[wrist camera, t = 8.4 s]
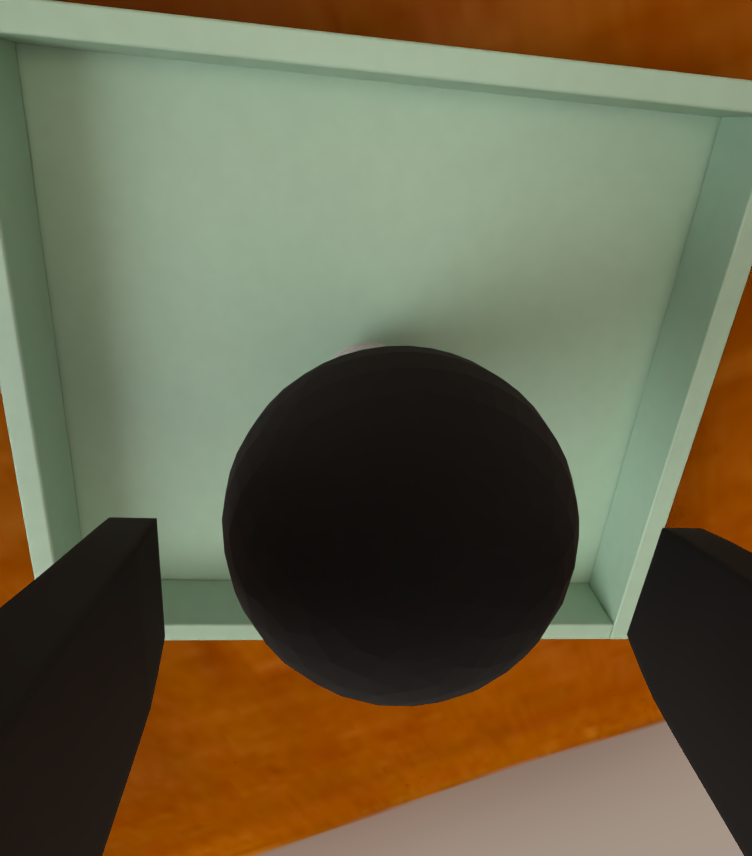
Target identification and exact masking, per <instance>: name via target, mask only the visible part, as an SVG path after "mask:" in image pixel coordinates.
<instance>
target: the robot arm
mask: <svg viewBox="0 0 752 856" xmlns="http://www.w3.org/2000/svg"><path fill="white" fill-rule="evenodd" d="M627 636H628V639H629V641H630V644H631V647H632V649H633V652H634V654H635V657H636V659H637V662H638V664H639V667H640V669H641V672H642V674H643V676H644V678H645V681H646V683H647V685H648V688H649V690H650V692H651V694H652V697H653V699H654V701H655V703H656V704H657V706H658V708H659V710H660V712H661V713H662V715H663V717H664V719H665V720H666V722H667V724H668V726H669V727H670V729H671V731H672V733H673V734H674V736H675V738H676V740H677V741H678V743H679V745H680V746H681V748H682V750H683V752H684V753H685V755H686V757H687V759H688V760H689V762H690V764H691V766H692V767H693V769H694V771H695V772H696V774H697V776H698V778H699V779H700V781H701V783H702V784H703V786H704V788H705V789H706V791H707V793H708V794H709V796H710V798H711V800H712V801H713V803H714V805H715V807H716V808H717V810H718V812H719V813H720V815H721V817H722V818H723V820H724V822H725V824H726V825H727V827H728V829H729V830H730V832H731V834H732V835H733V837H734V839H735V841H736V842H737V844H738V846H739V848H740V849H741V851H742V853H743V854H744V856H752V553H751V552H749V551H747V550H745V549H743V548H741V547H739V546H737V545H735V544H733V543H732V542H730V541H728V540H725V539H723V538H721V537H719V536H717V535H715V534H713V533H710V532H708V531H706V530H703V529H701V528H662V530H661V533H660V536H659V539H658V542H657V545H656V548H655V551H654V554H653V557H652V560H651V563H650V566H649V569H648V572H647V575H646V578H645V581H644V584H643V587H642V590H641V593H640V596H639V599H638V602H637V605H636V608H635V611H634V614H633V617H632V620H631V623H630V626H629V629H628V632H627ZM164 640H165V627H164V613H163V599H162V585H161V571H160V557H159V543H158V529H157V518H121V517H109V518H108V519H106V520H105V521H104V522H103V523H101V524H100V525H99V526H98V527H97V528H95V529H94V530H93V531H92V532H91V533H89V534H88V535H87V536H86V537H85V538H84V539H82V540H81V541H80V542H79V543H78V544H76V545H75V546H74V547H73V548H72V549H70V550H69V551H68V552H67V553H66V554H65V555H63V556H62V557H61V558H60V559H59V560H58V561H56V562H55V563H54V564H53V565H52V566H50V567H49V568H48V569H47V570H46V571H45V572H43V573H42V574H41V575H40V576H39V577H37V578H36V579H35V580H34V581H33V582H31V583H30V584H29V585H28V586H27V587H25V588H24V589H23V590H22V591H20V592H19V593H18V594H17V595H16V596H14V597H13V598H12V599H11V600H9V601H8V602H7V603H6V604H4V605H3V606H2V607H1V608H0V856H102V854H103V851H104V848H105V845H106V842H107V839H108V836H109V833H110V830H111V827H112V824H113V821H114V818H115V815H116V812H117V809H118V806H119V803H120V800H121V797H122V794H123V791H124V788H125V785H126V782H127V779H128V776H129V773H130V770H131V767H132V764H133V761H134V758H135V754H136V751H137V748H138V745H139V742H140V739H141V736H142V733H143V730H144V727H145V724H146V721H147V717H148V714H149V711H150V708H151V703H152V699H153V694H154V689H155V684H156V680H157V675H158V670H159V665H160V660H161V655H162V650H163V645H164Z"/></svg>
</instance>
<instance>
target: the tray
mask: <svg viewBox="0 0 752 856" xmlns="http://www.w3.org/2000/svg"><path fill="white" fill-rule="evenodd" d="M751 266H752V80H745V79H736V78H727V77H719V76H710V75H701V74H692V73H683V72H675V71H666V70H657V69H648V68H640V67H631V66H622V65H613V64H605V63H596V62H587V61H578V60H570V59H561V58H552V57H543V56H535V55H526V54H517V53H508V52H500V51H491V50H482V49H473V48H465V47H456V46H447V45H438V44H430V43H421V42H412V41H403V40H395V39H386V38H377V37H368V36H360V35H351V34H342V33H333V32H325V31H316V30H307V29H298V28H290V27H281V26H272V25H263V24H255V23H246V22H237V21H228V20H220V19H211V18H202V17H193V16H185V15H176V14H167V13H158V12H150V11H141V10H132V9H123V8H115V7H106V6H97V5H88V4H80V3H71V2H62V1H53V0H0V388H1V393H2V399H3V404H4V410H5V416H6V421H7V427H8V433H9V438H10V444H11V449H12V455H13V461H14V466H15V472H16V478H17V483H18V489H19V494H20V500H21V506H22V511H23V517H24V522H25V528H26V534H27V539H28V545H29V551H30V556H31V562H32V567H33V573H34V579H36V578H37V577H39V576H40V575H41V574H42V573H43V572H45V571H46V570H47V569H48V568H49V567H50V566H52V565H53V564H54V563H55V562H56V561H58V560H59V559H60V558H61V557H62V556H63V555H65V554H66V553H67V552H68V551H69V550H70V549H72V548H73V547H74V546H75V545H76V544H78V543H79V542H80V541H81V540H82V539H84V538H85V537H86V536H87V535H88V534H89V533H91V532H92V531H93V530H94V529H95V528H97V527H98V526H99V525H100V524H101V523H103V522H104V521H105V520H106V519H108V518H109V517H121V518H157V529H158V543H159V557H160V571H161V585H162V599H163V613H164V627H165V640H263V639H262V637H261V636H260V634H259V633H258V632H257V630H256V629H255V627H254V626H253V624H252V623H251V621H250V620H249V618H248V617H247V615H246V614H245V612H244V611H243V609H242V607H241V605H240V603H239V601H238V598H237V596H236V594H235V591H234V588H233V584H232V580H231V577H230V573H229V569H228V565H227V561H226V557H225V554H224V542H223V529H222V514H223V507H224V500H225V493H226V488H227V483H228V478H229V473H230V470H231V467H232V465H233V462H234V459H235V456H236V454H237V452H238V450H239V448H240V446H241V444H242V443H243V441H244V439H245V437H246V435H247V433H248V432H249V430H250V429H251V427H252V426H253V424H254V423H255V421H256V420H257V418H258V417H259V416H260V414H261V413H262V412H263V410H264V409H265V408H266V406H267V405H268V404H269V403H270V402H271V401H272V400H273V399H274V398H275V397H276V396H277V395H278V394H279V393H280V392H281V391H282V390H283V389H284V388H285V387H287V386H288V385H290V384H291V383H292V382H294V381H295V380H296V379H298V378H299V377H301V376H302V375H303V374H305V373H307V372H308V371H310V370H312V369H314V368H315V367H317V366H319V365H320V364H322V363H325V362H327V361H329V360H331V359H332V358H333V357H334V356H335V355H336V354H337V353H338V352H340V351H341V350H343V349H345V348H346V347H348V346H350V345H353V344H356V343H360V342H368V341H369V342H377V343H382V344H385V345H387V346H416V347H426V348H433V349H437V350H441V351H445V352H449V353H453V354H455V355H458V356H460V357H463V358H466V359H468V360H471V361H473V362H474V363H476V364H478V365H480V366H482V367H483V368H485V369H487V370H489V371H491V372H492V373H494V374H495V375H497V376H499V377H500V378H502V379H503V380H505V381H506V382H507V383H509V384H510V385H511V386H513V387H514V388H515V389H517V390H518V391H519V392H520V393H521V394H522V395H523V396H524V397H525V398H526V399H527V400H528V401H529V402H530V403H531V404H532V405H533V406H534V407H535V409H536V410H537V411H538V413H539V414H540V416H541V417H542V418H543V420H544V421H545V423H546V424H547V426H548V427H549V429H550V430H551V432H552V433H553V435H554V436H555V438H556V439H557V441H558V443H559V445H560V447H561V449H562V451H563V453H564V455H565V457H566V459H567V463H568V466H569V469H570V472H571V476H572V479H573V484H574V489H575V494H576V499H577V506H578V513H579V541H578V548H577V556H576V563H575V569H574V572H573V575H572V578H571V581H570V584H569V587H568V590H567V593H566V596H565V599H564V602H563V604H562V606H561V607H560V609H559V610H558V612H557V614H556V615H555V617H554V618H553V620H552V621H551V623H550V625H549V626H548V628H547V629H546V631H545V633H544V634H543V636H542V637H541V639H608V638H610V639H627V638H628V636H627V632H628V629H629V626H630V623H631V620H632V617H633V614H634V611H635V608H636V605H637V602H638V599H639V596H640V593H641V590H642V587H643V584H644V581H645V578H646V575H647V572H648V569H649V566H650V563H651V560H652V557H653V554H654V551H655V548H656V545H657V542H658V539H659V536H660V533H661V530H662V528H665V525H666V522H667V519H668V516H669V513H670V510H671V507H672V504H673V501H674V498H675V495H676V492H677V489H678V486H679V483H680V480H681V477H682V474H683V471H684V468H685V465H686V462H687V459H688V456H689V453H690V450H691V447H692V444H693V441H694V438H695V435H696V432H697V429H698V426H699V423H700V420H701V417H702V414H703V411H704V408H705V405H706V402H707V399H708V396H709V393H710V390H711V387H712V384H713V381H714V378H715V375H716V372H717V369H718V366H719V363H720V360H721V357H722V354H723V351H724V348H725V345H726V342H727V339H728V336H729V333H730V330H731V326H732V323H733V320H734V317H735V314H736V311H737V308H738V305H739V302H740V299H741V296H742V293H743V290H744V287H745V284H746V281H747V278H748V275H749V272H750V269H751Z"/></svg>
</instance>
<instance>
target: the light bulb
mask: <svg viewBox="0 0 752 856" xmlns="http://www.w3.org/2000/svg"><path fill="white" fill-rule="evenodd" d="M222 529H223V542H224V554H225V557H226V561H227V565H228V569H229V573H230V577H231V580H232V584H233V588H234V591H235V594H236V596H237V598H238V601H239V603H240V605H241V607H242V609H243V611H244V612H245V614H246V615H247V617H248V618H249V620H250V621H251V623H252V624H253V626H254V627H255V629H256V630H257V632H258V633H259V634H260V636H261V637H262V639H263V640H264V641H265V643H266V644H267V645H268V646H269V647H270V648H271V649H272V650H273V651H274V653H275V654H276V655H277V656H278V657H279V658H280V659H281V660H282V661H283V662H284V663H285V664H287V665H288V666H290V667H291V668H293V669H294V670H296V671H297V672H299V673H300V674H302V675H303V676H305V677H306V678H308V679H310V680H311V681H313V682H314V683H316V684H318V685H320V686H322V687H324V688H326V689H328V690H330V691H332V692H334V693H336V694H338V695H340V696H343V697H347V698H351V699H355V700H359V701H363V702H367V703H371V704H375V705H388V706H416V705H424V704H431V703H438V702H442V701H445V700H448V699H451V698H455V697H458V696H461V695H464V694H467V693H470V692H473V691H475V690H478V689H479V688H481V687H483V686H484V685H486V684H488V683H489V682H491V681H493V680H494V679H496V678H498V677H499V676H501V675H503V674H504V673H506V672H507V671H508V670H510V669H511V668H512V667H513V666H514V665H516V664H517V663H518V662H519V661H520V660H521V659H523V658H524V657H525V656H526V655H527V654H528V653H529V651H530V650H531V649H532V648H533V647H534V646H535V645H536V644H537V643H538V642H539V640H540V639H541V637H542V636H543V634H544V633H545V631H546V629H547V628H548V626H549V625H550V623H551V621H552V620H553V618H554V617H555V615H556V614H557V612H558V610H559V609H560V607H561V606H562V604H563V602H564V599H565V596H566V593H567V590H568V587H569V584H570V581H571V578H572V575H573V572H574V569H575V563H576V556H577V548H578V541H579V513H578V506H577V499H576V494H575V489H574V484H573V479H572V476H571V472H570V469H569V466H568V463H567V459H566V457H565V455H564V453H563V451H562V449H561V447H560V445H559V443H558V441H557V439H556V438H555V436H554V435H553V433H552V432H551V430H550V429H549V427H548V426H547V424H546V423H545V421H544V420H543V418H542V417H541V416H540V414H539V413H538V411H537V410H536V409H535V407H534V406H533V405H532V404H531V403H530V402H529V401H528V400H527V399H526V398H525V397H524V396H523V395H522V394H521V393H520V392H519V391H518V390H517V389H515V388H514V387H513V386H511V385H510V384H509V383H507V382H506V381H505V380H503V379H502V378H500V377H499V376H497V375H495V374H494V373H492V372H491V371H489V370H487V369H485V368H483V367H482V366H480V365H478V364H476V363H474V362H473V361H471V360H468V359H466V358H463V357H460V356H458V355H455V354H453V353H449V352H445V351H441V350H437V349H433V348H426V347H416V346H387V345H385V344H382V343H377V342H369V341H368V342H360V343H356V344H353V345H350V346H348V347H346V348H345V349H343V350H341V351H340V352H338V353H337V354H336V355H335V356H334V357H333V358H332V359H331V360H329V361H327V362H325V363H322V364H320V365H319V366H317V367H315V368H314V369H312V370H310V371H308V372H307V373H305V374H303V375H302V376H301V377H299V378H298V379H296V380H295V381H294V382H292V383H291V384H290V385H288V386H287V387H285V388H284V389H283V390H282V391H281V392H280V393H279V394H278V395H277V396H276V397H275V398H274V399H273V400H272V401H271V402H270V403H269V404H268V405H267V406H266V408H265V409H264V410H263V412H262V413H261V414H260V416H259V417H258V418H257V420H256V421H255V423H254V424H253V426H252V427H251V429H250V430H249V432H248V433H247V435H246V437H245V439H244V441H243V443H242V444H241V446H240V448H239V450H238V452H237V454H236V456H235V459H234V462H233V465H232V467H231V470H230V473H229V478H228V483H227V488H226V493H225V500H224V507H223V514H222Z"/></svg>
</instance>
